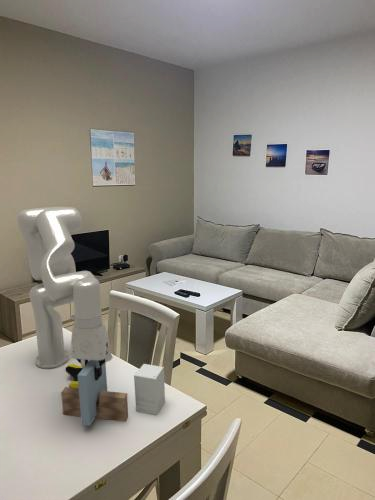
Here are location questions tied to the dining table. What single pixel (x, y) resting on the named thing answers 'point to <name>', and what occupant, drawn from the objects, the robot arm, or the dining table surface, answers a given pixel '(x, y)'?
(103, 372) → the slate slotted plate
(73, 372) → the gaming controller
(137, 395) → the supplement box
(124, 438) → the dining table surface
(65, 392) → the walnut slotted plate
